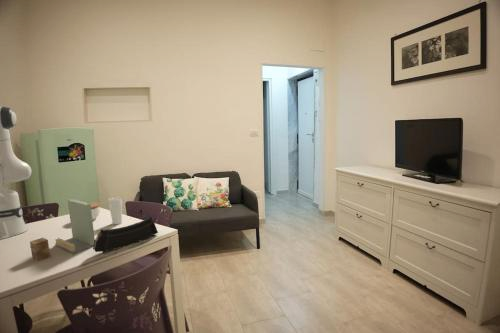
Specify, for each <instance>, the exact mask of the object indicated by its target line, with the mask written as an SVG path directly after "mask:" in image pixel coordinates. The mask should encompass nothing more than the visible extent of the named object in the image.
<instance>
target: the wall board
mask: <svg viewBox="0 0 500 333" xmlns="http://www.w3.org/2000/svg"><path fill="white" fill-rule="evenodd" d="M89 203H90V202H89ZM89 203H87V202H85V201H82V200H78V199H72V198H71V199H67V204H68V212H69V213H68V214H69V220H70V229H71V234H72V236H71V237H70V238H68V239H65V240H64V239H62V238H60V237H57V238H55V244H54V245H55V246H56V247H57V248H60V249H62V250H65V251H67V252H69V253H71V254H73V255H75V254H77V253H79V252H82V251H85V250H87V249H89V248H90V249H91V248H93V246H94V241H95V239H96V238H95V231H94V224H93V223H94V222H93V221H94V220H92V213H91V205H90V204H89Z"/></svg>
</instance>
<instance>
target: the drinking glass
mask: <svg viewBox="0 0 500 333" xmlns="http://www.w3.org/2000/svg"><path fill="white" fill-rule="evenodd" d="M108 206H109V207H108V208H109V211H110V218H111V223H112V224H113V225H119V224H120V225H121V224H122V223H123V204H122V198H121V197H119V196H118V197H117V196H116V197H111V198H108Z"/></svg>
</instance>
